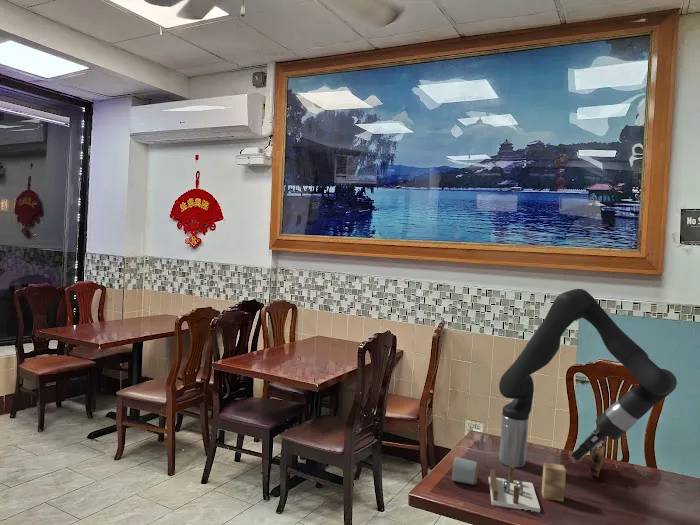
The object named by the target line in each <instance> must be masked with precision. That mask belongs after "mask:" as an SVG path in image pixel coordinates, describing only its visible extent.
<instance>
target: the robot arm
mask: <svg viewBox="0 0 700 525" xmlns="http://www.w3.org/2000/svg"><path fill="white" fill-rule="evenodd" d="M580 319H584V320H586V321H587V322H588V323H590V324H591V325H592V326H593V327H594V328H595V330H596V331H597V333H598V334H599V336H600V337H601V339H602V340H601V341H602V343H603V344H604V346H605V348H606V349H607V350H608V352H609V353H610V354H611V355H612V356H613V357H614V358H615V359H616V360H617V361H618V362H619V363H620V364H621V365H622V366H624V367H625V368H626V369H627V370H629V372H630V374H631V375H632V376H633V377H634V378H635V379H636V381H637V382H638V383H639V384H638V385H636V386H635V387H633V388H632V389H629V391H626V392H625V393H624V394H623V396H622V397H620V398H619V399H618V400H617V401H615V402H613V403H612V404H611V405H609V407H608V408H607V409H606V410H605V411H603V412H602V413H601V414H600V415H599V416H598V417H597V418H595V424H596V426H597V427H598V428H595V429H594V430H592V431H591V432H590V434H589V435H588V436H587V437H586V438H584V440H583V441H584V442H582V443H581V444H579V447H578V448H577V449H576V450H575V451H573V452H572V453H571V457H572V458H573V459H574V460H575V461H579V460H580V459H581V458H582V457H583V456H584V455H587V454H588V453H590V452H591V451H592V450H594V449H597V447H599V446H601V445H602V444H604V443H605V442H606V441H607V440H608V438H610V440H613V441H618V440H619V439H620V438H621V437H623V436H624V435H625V434H626V433H627V432H628V431H629V430H630V429H631V428H633V427H634V426H635V425H636V423H638V421H639V420H640V419H641V418H643V417H644V416H645V415H646V414H648V412H649V411H650V410H651V409H652V408H653V407H654V406H655V405H656V404H658V403H660V402H661V401H662V400H664V399H665V398H667V397H668V396H669V395H671V393H673V391H675V389H676V387H677V385H678V384H677V383H678V382H677V377H676V375H675V374H674V373H673V372H672V371H670V370H669V369H666V368H661V367H659V366H658V365H657V364H656V363H655V362H654V361H653V360H651V359H650V358H649V355H648V353H647V352H646V351H645V350H644V349H643V348H642V347H641V346H640V345H639V344H637V342H635V341H634V340H633V339H632V338H631V337H629V336H628V335H627V334H626V332H624V331H623V330H622V329H621V328H620V327H619V326H618V325H617V323H616V322H615V321H613V319H612V318H611V317H610V316H609V315H608V313H607V312H606V311H605V310H604V308H603V307H602V306H601V305H600V304H599V302H598V301H597V300H596V299H595V298H594V297H593V295H592V294H590V293H589V292H588V291H587V290H585V289H583V288H574V289H571V290H567V291H565V292H561V293H560V294H559V295H558V296H556V298H555V299H554V301H553V302H552V304H551V306H550V308H549V310H548V312H547V313H546V316H545V317H544V319H543V321H542V322H541V323H540V325H539V326H538V328H537V329H536V331H535V332H534V334H532V336H531V338H530V339H529V340H528V342H527V344H526V345H525V347H524V349H523V350H522V352H520V353H519V355H518V356H517V358H516V360H514V362H513V363H512V364H511V365H510V366H509V367H508V369H507V370H505V371H504V373H503V374H502V376H501V377H500V380H499V384H498V388H499V392H500V394H501V395H502V396H503V397H504V398H506V399H511V400H512V399H513V400H512V401H510V402H509V403H507V404H505V405H504V406H503V407H502V415H501V416H502V417H501V430H500V444H499V454H498V460H499V462H500V463H501V464H502V465H505V466H508V467H509V466H514V468H523V467H525V465H526V460H527V458H526V457H527V446H528V434H529V433H528V432H529V431H528V430H529V420H530V419H529V418H530V414H531V411H532V408H533V407H532V406H533V400H534V399H533V398H534V392H535V389H534V388H535V387H534V386H535V385H534V379H533V378H532V376H531V375H532V374H534V373H536V372H538V371H539V370H541V369H543V368H544V367H546V366H547V365H549V363H550V362H551V361H552V360H553V358H554V357H555V356H556V354H557V353H558V352H559V349H560V347H561V338H562V336H563V334H564V332H566V330H567V329H568V328H569V327H570V325H572V323H574V322H576V321H577V320H580ZM607 437H608V438H607Z"/></svg>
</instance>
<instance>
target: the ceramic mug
mask: <svg viewBox="0 0 700 525" xmlns="http://www.w3.org/2000/svg"><path fill="white" fill-rule="evenodd" d="M479 466H480V464H479V463H478V462H476V461H474V460H470V459H465V458H463V457H459V456H455V457H454V459H453V466H452V474H451V481H453V482H458V483H462V484H467V485H476V484H477V483H478V477H479V476H478V475H479V469H480V467H479Z"/></svg>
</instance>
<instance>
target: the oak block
mask: <svg viewBox="0 0 700 525" xmlns="http://www.w3.org/2000/svg"><path fill="white" fill-rule="evenodd" d="M542 468H543V470H542V482H541V496H542V498H543V499H544V500H549V501H557V502H564V498H565V487H566V475H567V470H566V468H565V465H564V464H557V463H549V462H543V467H542Z"/></svg>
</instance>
